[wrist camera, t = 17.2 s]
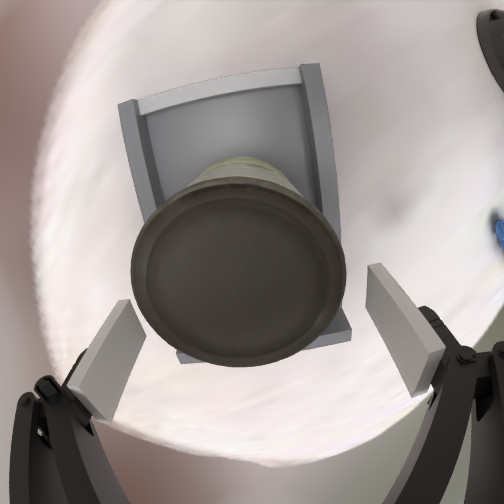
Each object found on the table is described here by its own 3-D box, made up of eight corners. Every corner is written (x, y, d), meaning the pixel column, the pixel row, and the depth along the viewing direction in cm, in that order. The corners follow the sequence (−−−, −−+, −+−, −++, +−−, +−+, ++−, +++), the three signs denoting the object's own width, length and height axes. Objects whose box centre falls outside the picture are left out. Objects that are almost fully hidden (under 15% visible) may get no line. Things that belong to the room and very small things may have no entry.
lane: (131, 107, 21) (97, 101, 15) (311, 71, 20) (331, 52, 14) (191, 324, 31) (180, 363, 25) (334, 302, 30) (350, 340, 24)
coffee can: (310, 241, 27) (358, 338, 14) (212, 272, 28) (188, 381, 15) (278, 139, 23) (316, 143, 10) (171, 178, 24) (93, 230, 11)
